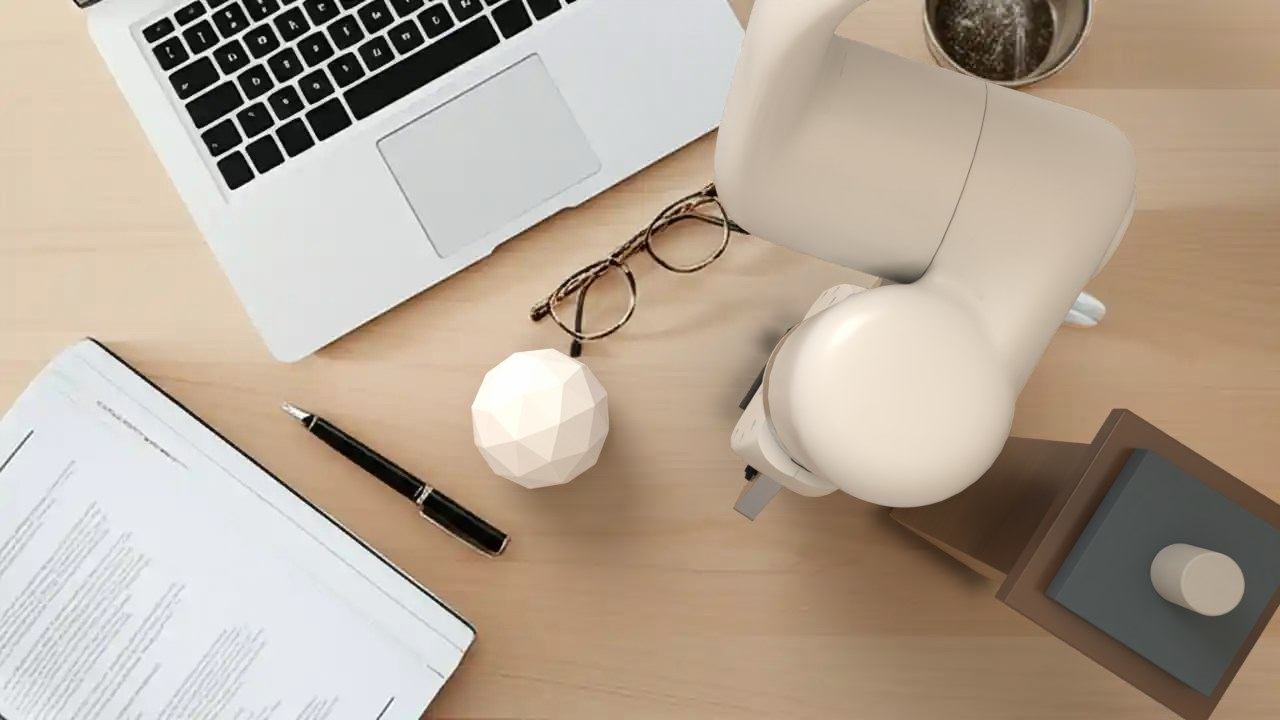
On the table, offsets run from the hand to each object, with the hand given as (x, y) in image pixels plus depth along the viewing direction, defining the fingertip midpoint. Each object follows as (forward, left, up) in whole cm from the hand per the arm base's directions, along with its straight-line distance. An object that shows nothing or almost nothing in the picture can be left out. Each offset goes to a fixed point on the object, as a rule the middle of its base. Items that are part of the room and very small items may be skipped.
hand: (804, 392), depth 67 cm
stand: (0, +11, -1) cm, 11 cm away
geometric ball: (+9, -12, -1) cm, 15 cm away
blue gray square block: (0, +11, +27) cm, 29 cm away
